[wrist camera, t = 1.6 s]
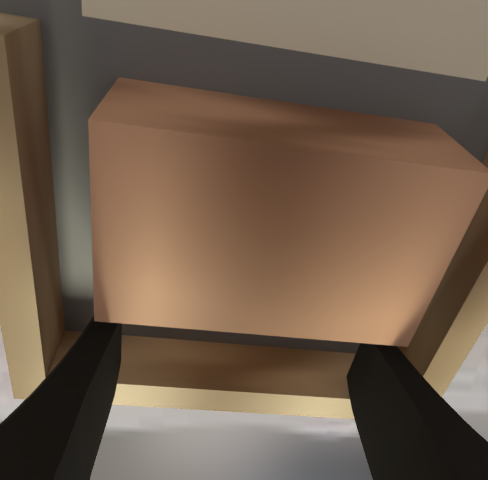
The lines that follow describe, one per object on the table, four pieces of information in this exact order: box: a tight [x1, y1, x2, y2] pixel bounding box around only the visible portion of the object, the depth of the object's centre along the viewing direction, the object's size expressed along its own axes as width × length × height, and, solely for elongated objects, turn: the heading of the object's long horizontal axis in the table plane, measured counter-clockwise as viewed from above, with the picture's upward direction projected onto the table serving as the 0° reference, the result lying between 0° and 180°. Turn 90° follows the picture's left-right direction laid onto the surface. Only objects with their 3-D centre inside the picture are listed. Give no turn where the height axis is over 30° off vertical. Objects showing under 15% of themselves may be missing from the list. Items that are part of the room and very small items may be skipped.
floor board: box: [0, 0, 488, 353], centre depth 12 cm, size 15×16×1 cm
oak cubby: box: [0, 13, 488, 419], centre depth 13 cm, size 13×10×2 cm
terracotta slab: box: [88, 77, 488, 347], centre depth 11 cm, size 8×5×3 cm, turn 81°
